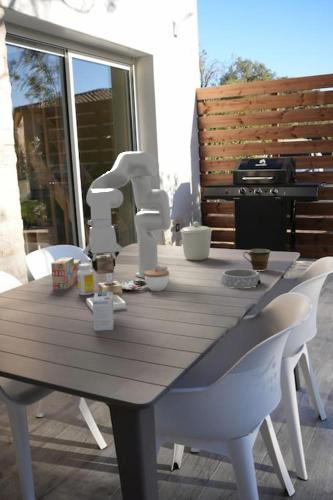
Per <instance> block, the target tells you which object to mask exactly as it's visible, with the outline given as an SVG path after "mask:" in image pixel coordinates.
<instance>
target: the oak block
mask: <svg viewBox="0 0 333 500" xmlns="http://www.w3.org/2000/svg"><path fill="white" fill-rule="evenodd" d="M97 285H98V292H113V295H118V296H119V297H120V298H121V299H122V300H124V299H123V285H122V284H121V282H119V281H117V280H113V285H110V286H107V281H104V282H98V283H97Z"/></svg>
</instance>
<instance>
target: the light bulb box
mask: <svg viewBox="0 0 333 500" xmlns="http://www.w3.org/2000/svg"><path fill="white" fill-rule="evenodd" d="M92 298H93V312H92V315H93V331H94V332H95V331H113V330H114V322H115V321H114V320H115V318H114V317H115V316H114V310H113V292H99V291H98V292H94V293H93V297H92Z"/></svg>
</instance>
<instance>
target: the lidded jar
mask: <svg viewBox="0 0 333 500" xmlns="http://www.w3.org/2000/svg"><path fill="white" fill-rule="evenodd" d="M144 275H145V278H144V281H145V284H146V286H147V288H149V289H150V291H153V292H160V291H163V290H165V288H166V287H167V286H168V283H169V278H170V277H169V275H170V272H169V270H168V269H167V270H162V269H158V268H155V269H154V270H148V271H145V273H144Z"/></svg>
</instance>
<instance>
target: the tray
mask: <svg viewBox="0 0 333 500" xmlns="http://www.w3.org/2000/svg"><path fill="white" fill-rule="evenodd" d="M93 298H94V297H88V298H86V299H85V300H86V305H87V307H88V308H89V309H90V310H91V311H92V313H93ZM125 309H127V304H126V301H124V299H121V298H120V297H119V296H118V295H113V311H121V310H125Z"/></svg>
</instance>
